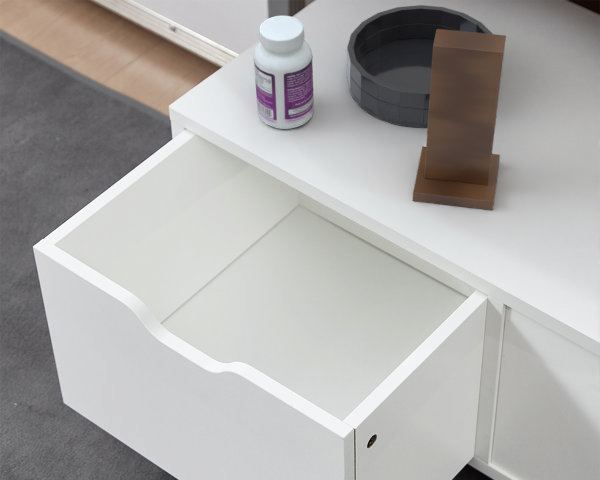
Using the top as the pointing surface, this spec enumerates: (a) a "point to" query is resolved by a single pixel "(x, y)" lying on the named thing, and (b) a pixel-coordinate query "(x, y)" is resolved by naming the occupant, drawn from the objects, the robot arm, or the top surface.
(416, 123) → the pan
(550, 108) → the top surface
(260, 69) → the pill bottle
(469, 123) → the brown upright plaque stand
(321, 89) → the top surface
